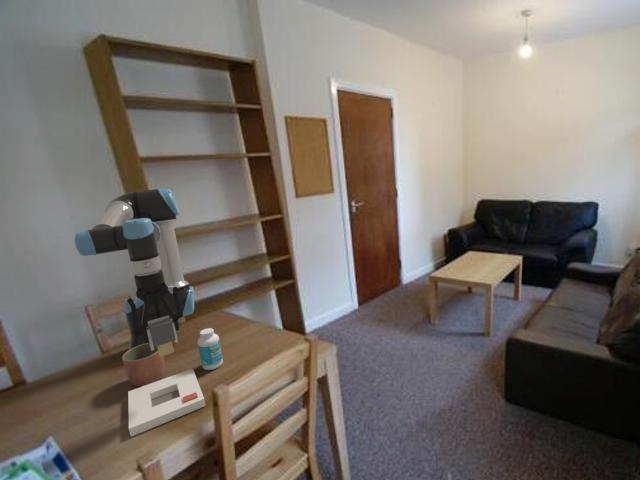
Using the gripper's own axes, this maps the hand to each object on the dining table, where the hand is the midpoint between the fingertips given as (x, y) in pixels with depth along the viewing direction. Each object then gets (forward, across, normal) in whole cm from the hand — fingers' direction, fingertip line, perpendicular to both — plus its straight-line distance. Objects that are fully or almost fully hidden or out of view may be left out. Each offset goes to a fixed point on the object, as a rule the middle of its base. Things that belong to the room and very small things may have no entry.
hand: (164, 344), depth 104 cm
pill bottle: (+19, +14, +12) cm, 27 cm away
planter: (+19, -6, +18) cm, 27 cm away
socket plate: (+19, -3, 0) cm, 19 cm away
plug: (+2, 0, 0) cm, 2 cm away
